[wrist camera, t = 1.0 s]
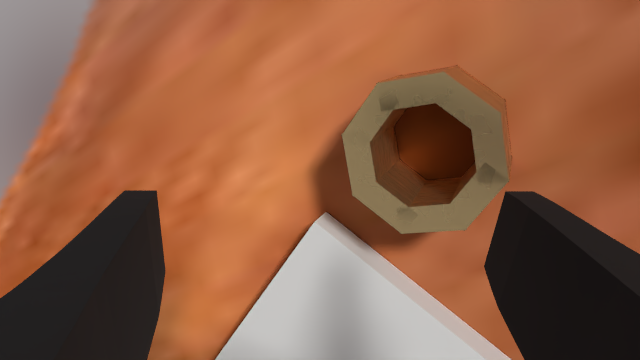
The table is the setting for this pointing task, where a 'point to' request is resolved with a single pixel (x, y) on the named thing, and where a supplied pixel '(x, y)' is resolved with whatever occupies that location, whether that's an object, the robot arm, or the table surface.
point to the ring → (404, 183)
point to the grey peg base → (350, 309)
